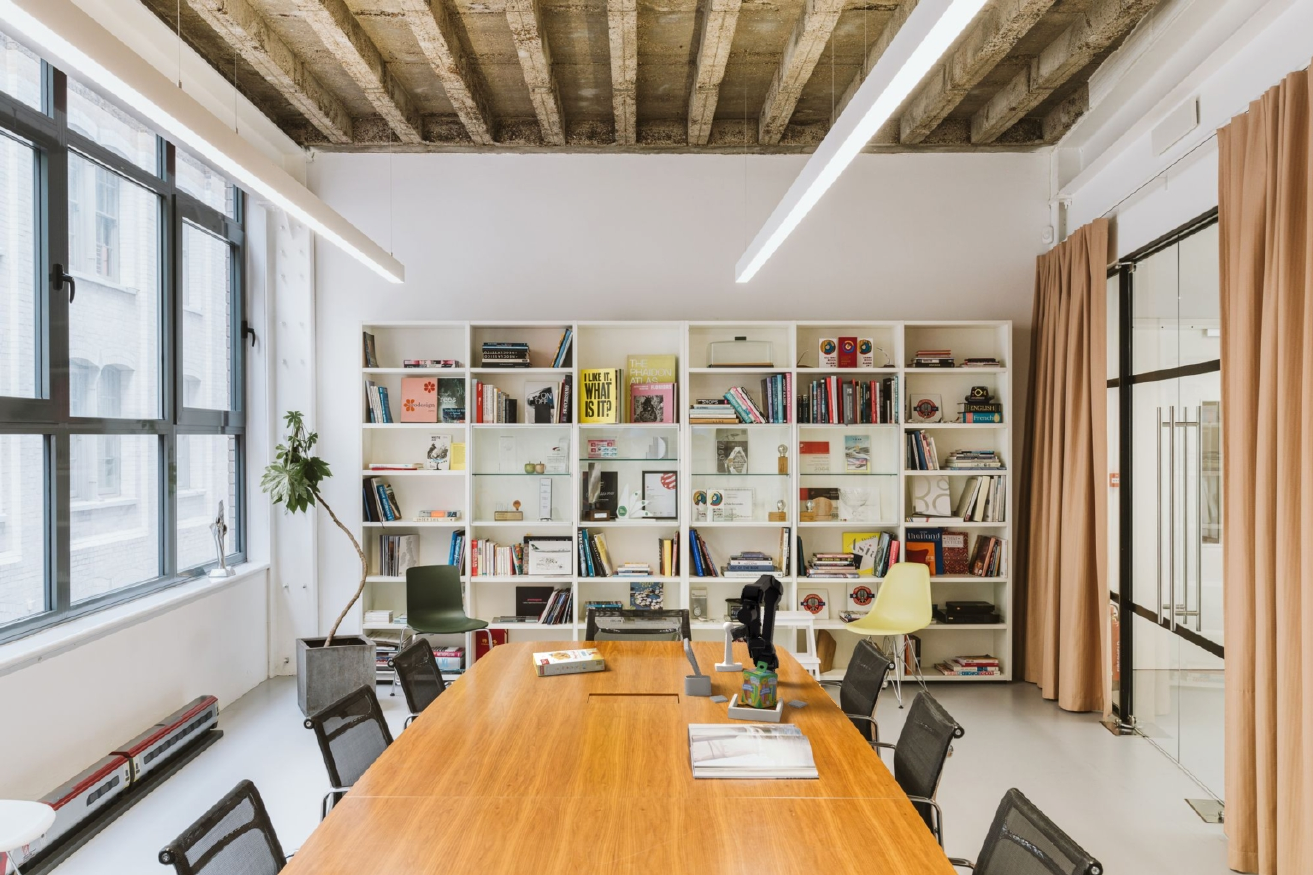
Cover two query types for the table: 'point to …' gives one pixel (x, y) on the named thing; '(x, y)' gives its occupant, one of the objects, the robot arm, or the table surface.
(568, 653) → the cereal box
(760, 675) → the chalk box
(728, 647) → the joystick
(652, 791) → the table surface
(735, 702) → the corral
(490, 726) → the table surface
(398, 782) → the table surface
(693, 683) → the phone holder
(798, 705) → the tile
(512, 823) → the table surface
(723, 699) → the tile
